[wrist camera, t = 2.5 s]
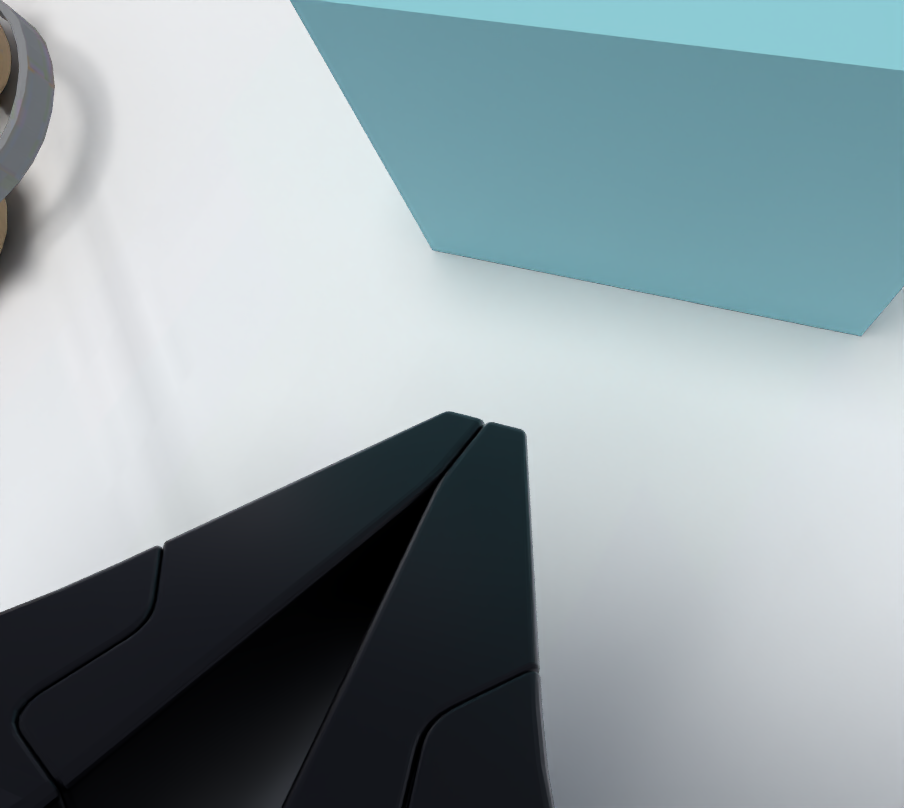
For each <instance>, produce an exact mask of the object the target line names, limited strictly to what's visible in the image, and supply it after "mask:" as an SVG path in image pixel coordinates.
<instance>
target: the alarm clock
mask: <svg viewBox="0 0 904 808" xmlns="http://www.w3.org/2000/svg"><path fill="white" fill-rule="evenodd" d="M0 16H1V17H2V18H3V19H5V20H7V21H8V22H9V23H10V24H11V27H12V31H13V34H14V37H15V41H16V44H17V50H18V61H19V74H18V83H17V91H16V96H15V100H14V103H13V107H12V110H11V114H10V117H9V121H8V123H7V125H6V127H5V129H4V131H3V133H2V135H1V137H0V253H1V251H2V248H3V244H4V240H5V237H6V233H7V204H6V200H5V197H6V196H7V195H8V194H9V193H10V192H11V190H12V189H13V188H14V187H15V186H16V185H17V184H18V183H19V182H20V180H21V179H22V177H23V176H24V175H25V173H26V172H27V170H28V169H29V167H30V166H31V164H32V163H33V161H34V159H35V157H36V155H37V153H38V151H39V149H40V147H41V145H42V143H43V141H44V139H45V135H46V132H47V128H48V124H49V121H50V117H51V113H52V106H53V97H54V88H55V85H54V76H53V67H52V61H51V58H50V55H49V52H48V49H47V46H46V43H45V41H44V40H43V38H42V37H41V36H40V34H39V33H38V32H37V30H36V29H35V28H34V27H33V26H32V25H31V24H29V23H28V22H27V21H26V20H25V19H23V18H22V17H21V16H20V15H19V14H18V13H16V12H15V11H14V10H13V9H12V8H10V7H9V6H8V5H7V4H5V3H4V2H3V1H1V0H0ZM10 70H11V52H10V45H9V43H8V40H7V38H6V35H5V33H4V31H3V29H2V26H1V25H0V94H1V92H2V91H3V89H4V87H5V86H6V84H7V81H8V78H9V75H10Z"/></svg>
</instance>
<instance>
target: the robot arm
mask: <svg viewBox="0 0 904 808" xmlns="http://www.w3.org/2000/svg"><path fill="white" fill-rule="evenodd" d="M539 669H540V668H539V650H538V632H537V615H536V597H535V579H534V561H533V544H532V526H531V508H530V490H529V473H528V455H527V438H526V434H525V432H524V431H523V430H521V429H518V428H514V427H510V426H506V425H502V424H498V423H494V422H489V423H486V424H484V422H483V421H482V420H481V419H478V418H474V417H471V416H467V415H463V414H459V413H455V412H450V411H448V412H444V413H441V414H439V415H437V416H435V417H432V418H430V419H428V420H426V421H424V422H422V423H420V424H417V425H415V426H413V427H411V428H409V429H407V430H405V431H402V432H400V433H398V434H396V435H394V436H392V437H389V438H387V439H385V440H383V441H381V442H379V443H377V444H374V445H372V446H370V447H368V448H366V449H364V450H361V451H359V452H357V453H355V454H353V455H351V456H349V457H346V458H344V459H342V460H340V461H338V462H336V463H334V464H331V465H329V466H327V467H325V468H323V469H321V470H318V471H316V472H314V473H312V474H310V475H308V476H306V477H303V478H301V479H299V480H297V481H295V482H293V483H290V484H288V485H286V486H284V487H282V488H280V489H278V490H275V491H273V492H271V493H269V494H267V495H265V496H263V497H260V498H258V499H256V500H254V501H252V502H250V503H247V504H245V505H243V506H241V507H239V508H237V509H235V510H232V511H230V512H228V513H226V514H224V515H222V516H219V517H217V518H215V519H213V520H211V521H209V522H207V523H204V524H202V525H200V526H198V527H196V528H194V529H192V530H189V531H187V532H185V533H183V534H181V535H179V536H176V537H174V538H172V539H170V540H168V541H166V542H165V543H164V546H163V549H162V547H160V546H154V547H152V548H150V549H148V550H146V551H144V552H141V553H139V554H137V555H135V556H133V557H131V558H128V559H126V560H124V561H122V562H120V563H118V564H115V565H113V566H111V567H109V568H106V569H104V570H102V571H99V572H97V573H95V574H93V575H90V576H88V577H86V578H83V579H81V580H79V581H77V582H74V583H72V584H70V585H68V586H65V587H63V588H61V589H58V590H56V591H53V592H51V593H48V594H46V595H43V596H41V597H38V598H36V599H33V600H30V601H28V602H25V603H23V604H20V605H18V606H15V607H13V608H10V609H8V610H5V611H3V612H0V808H554V803H553V797H552V791H551V785H550V779H549V773H548V765H547V755H546V745H545V735H544V725H543V714H542V696H541V679H540V675H539Z"/></svg>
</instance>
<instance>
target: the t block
mask: <svg viewBox="0 0 904 808" xmlns="http://www.w3.org/2000/svg"><path fill="white" fill-rule="evenodd" d="M290 1H291V3H292V5H293V6H294V8H295V10H296V12H297V13H298V15H299V17H300V19H301V20H302V22H303V24H304V26H305V27H306V29H307V31H308V33H309V34H310V36H311V38H312V40H313V41H314V43H315V45H316V47H317V48H318V50H319V52H320V54H321V55H322V57H323V59H324V61H325V62H326V64H327V66H328V68H329V69H330V71H331V73H332V75H333V76H334V78H335V80H336V82H337V83H338V85H339V87H340V89H341V90H342V92H343V94H344V96H345V97H346V99H347V101H348V103H349V104H350V106H351V108H352V110H353V111H354V113H355V115H356V117H357V119H358V120H359V122H360V124H361V126H362V127H363V129H364V131H365V133H366V134H367V136H368V138H369V140H370V141H371V143H372V145H373V147H374V148H375V150H376V152H377V154H378V155H379V157H380V159H381V161H382V162H383V164H384V166H385V168H386V169H387V171H388V173H389V175H390V176H391V178H392V180H393V182H394V183H395V185H396V187H397V189H398V190H399V192H400V194H401V196H402V197H403V199H404V201H405V203H406V204H407V206H408V208H409V210H410V211H411V213H412V215H413V217H414V218H415V220H416V222H417V224H418V225H419V227H420V229H421V231H422V232H423V234H424V236H425V238H426V239H427V241H428V243H429V245H430V246H431V248H432V250H435V251H440V252H445V253H450V254H455V255H460V256H465V257H470V258H475V259H480V260H485V261H490V262H495V263H500V264H505V265H510V266H515V267H520V268H525V269H530V270H535V271H540V272H545V273H550V274H555V275H559V276H564V277H569V278H574V279H579V280H584V281H589V282H594V283H599V284H604V285H609V286H614V287H619V288H624V289H629V290H634V291H639V292H644V293H649V294H654V295H659V296H664V297H669V298H674V299H679V300H684V301H689V302H694V303H699V304H704V305H709V306H714V307H719V308H724V309H729V310H734V311H739V312H744V313H749V314H754V315H759V316H764V317H769V318H774V319H779V320H783V321H788V322H793V323H798V324H803V325H808V326H813V327H818V328H823V329H828V330H833V331H838V332H843V333H848V334H853V335H858V336H861V335H862V334H863V333H864V332H865V331H866V330H867V328H868V327H869V326H870V325H871V324H872V323H873V321H874V320H875V319H876V318H877V317H878V316H879V314H880V313H881V312H882V311H883V310H884V309H885V307H886V306H887V305H888V304H889V303H890V302H891V300H892V299H893V298H894V297H895V296H896V294H897V293H898V292H899V291H900V290H901V289H902V287H903V286H904V0H290Z"/></svg>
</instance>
